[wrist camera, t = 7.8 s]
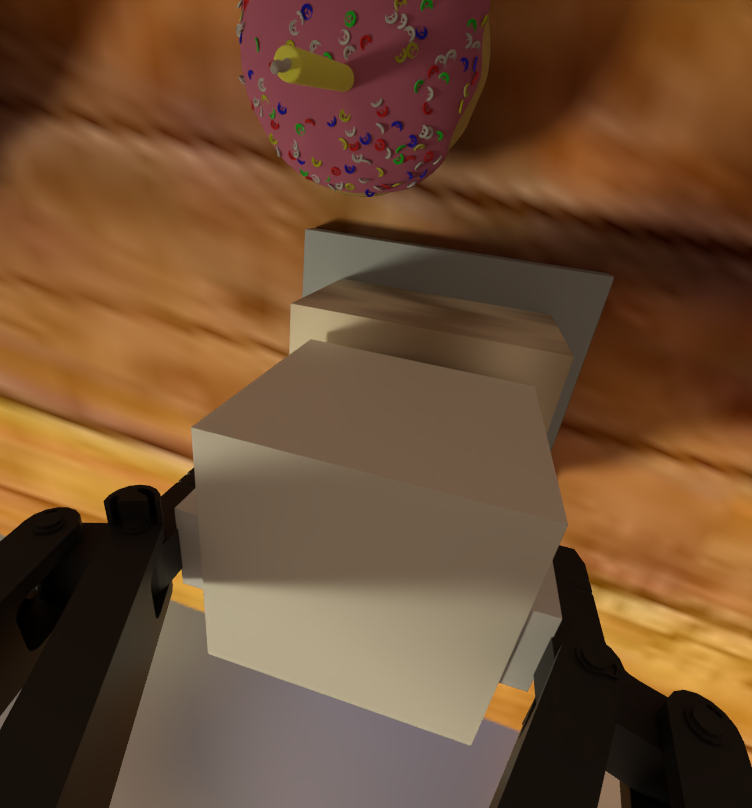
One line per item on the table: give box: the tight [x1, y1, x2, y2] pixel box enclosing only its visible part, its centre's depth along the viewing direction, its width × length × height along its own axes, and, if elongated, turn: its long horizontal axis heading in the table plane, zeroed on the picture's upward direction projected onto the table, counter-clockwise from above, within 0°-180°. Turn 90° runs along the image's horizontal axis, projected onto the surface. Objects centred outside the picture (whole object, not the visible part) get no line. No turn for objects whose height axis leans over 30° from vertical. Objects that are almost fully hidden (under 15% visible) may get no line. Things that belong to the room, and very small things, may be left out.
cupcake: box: [236, 0, 491, 197], centre depth 13 cm, size 9×8×12 cm
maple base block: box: [289, 279, 574, 435], centre depth 20 cm, size 10×10×6 cm
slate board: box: [302, 228, 614, 451], centre depth 23 cm, size 14×14×1 cm
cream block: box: [191, 339, 568, 746], centre depth 14 cm, size 8×8×7 cm
